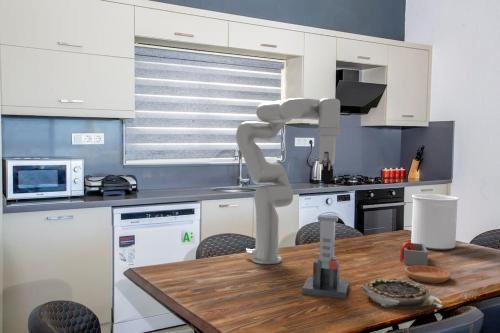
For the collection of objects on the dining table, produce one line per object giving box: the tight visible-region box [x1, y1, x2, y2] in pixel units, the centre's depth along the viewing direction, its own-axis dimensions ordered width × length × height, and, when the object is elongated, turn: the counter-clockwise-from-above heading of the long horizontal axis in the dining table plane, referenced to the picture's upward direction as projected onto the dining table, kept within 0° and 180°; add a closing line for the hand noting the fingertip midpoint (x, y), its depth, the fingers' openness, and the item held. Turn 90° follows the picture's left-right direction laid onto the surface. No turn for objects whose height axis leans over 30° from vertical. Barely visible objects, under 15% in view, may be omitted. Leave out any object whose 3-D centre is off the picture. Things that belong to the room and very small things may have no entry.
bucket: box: [410, 193, 460, 251], centre depth 229 cm, size 26×22×24 cm
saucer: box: [404, 265, 452, 284], centre depth 175 cm, size 16×16×3 cm
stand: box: [301, 256, 349, 299], centre depth 158 cm, size 14×14×11 cm
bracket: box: [399, 241, 414, 263], centre depth 199 cm, size 12×4×8 cm, turn 121°
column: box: [317, 214, 339, 269], centre depth 157 cm, size 6×5×17 cm
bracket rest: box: [402, 241, 429, 266], centre depth 199 cm, size 9×16×6 cm, turn 164°
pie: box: [359, 277, 443, 312], centre depth 150 cm, size 28×27×5 cm
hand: (327, 180), depth 168 cm, fingers open, 9 cm apart
